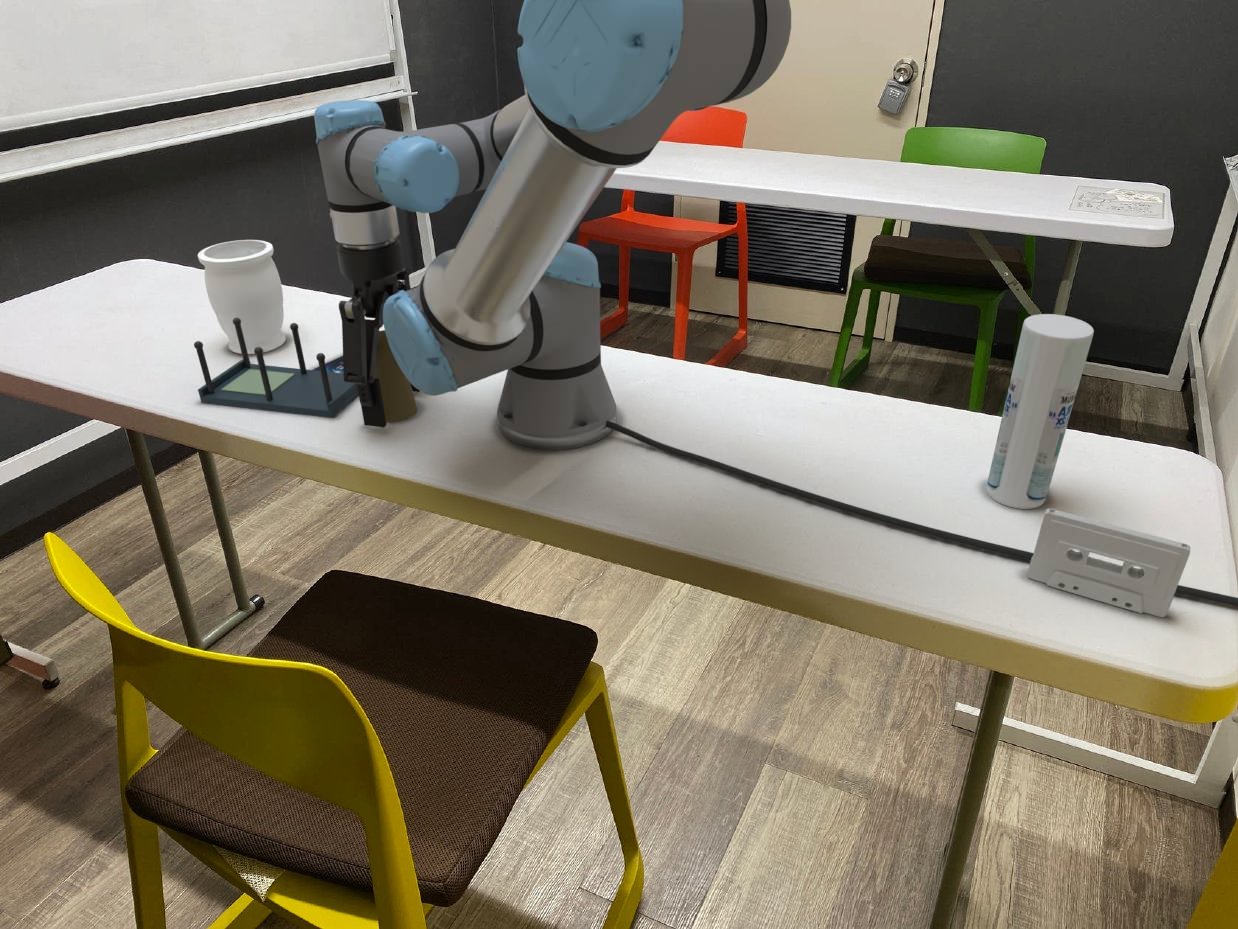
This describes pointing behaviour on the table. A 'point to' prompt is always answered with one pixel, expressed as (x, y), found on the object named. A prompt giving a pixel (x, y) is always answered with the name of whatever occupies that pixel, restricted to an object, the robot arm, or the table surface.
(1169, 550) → the cassette
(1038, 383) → the spray can
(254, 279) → the jar
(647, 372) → the table surface
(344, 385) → the drying rack
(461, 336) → the robot arm
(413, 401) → the cork
